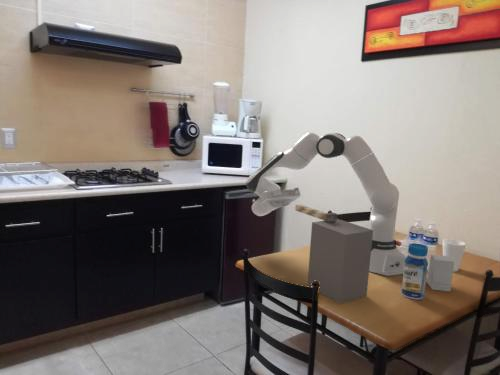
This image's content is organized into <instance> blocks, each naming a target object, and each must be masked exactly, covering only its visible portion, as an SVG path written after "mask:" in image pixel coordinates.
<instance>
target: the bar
mask: <svg viewBox="0 0 500 375" xmlns="http://www.w3.org/2000/svg"><path fill="white" fill-rule="evenodd" d="M294 207H295V209H294V210H295V211H296V212H298V213H302V214H305V215H307V216H310V217H314V218H317V219H319V220H321V221H325V222H328V223H331V222H337V219H338V213H336V212H328V213H327V212H324V211H322V210H321V211H320V210H318V209H316V208H315V209H314V208H312V207H308V206H306V205H302V204H295V206H294Z"/></svg>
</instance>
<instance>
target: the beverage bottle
mask: <svg viewBox="0 0 500 375" xmlns="http://www.w3.org/2000/svg"><path fill="white" fill-rule="evenodd" d="M428 250H429V247H428V246H427V245H424V244H421V243H409V245H408V248H407V253H408V255H407V256H406V257H407V258H406V259H405V265H404V274H402V284H401V285H402V286H401V290H400V291H401V292H400V293H401V294H402V296H403V297H405V298H408V299H411V300H422V299H423V298H424V297H425V289H426V284H427V281H426V280H427V277H428V272H429V269H428V267H429V263H428V259H427V258H426V257H427V255H428V252H429V251H428Z"/></svg>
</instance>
